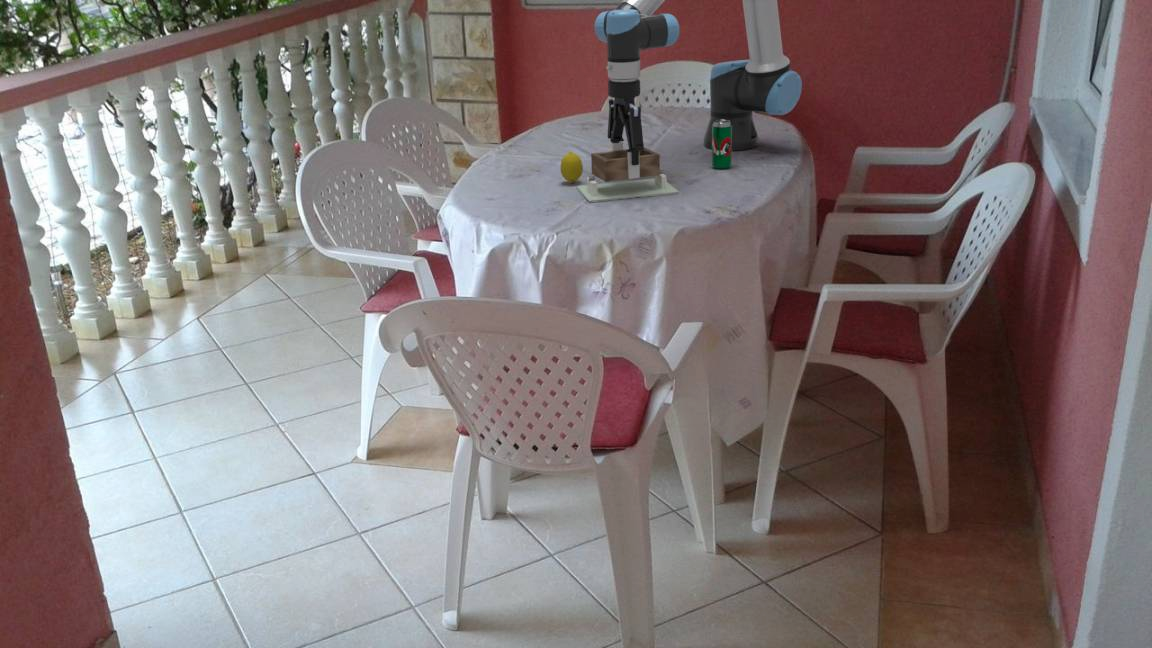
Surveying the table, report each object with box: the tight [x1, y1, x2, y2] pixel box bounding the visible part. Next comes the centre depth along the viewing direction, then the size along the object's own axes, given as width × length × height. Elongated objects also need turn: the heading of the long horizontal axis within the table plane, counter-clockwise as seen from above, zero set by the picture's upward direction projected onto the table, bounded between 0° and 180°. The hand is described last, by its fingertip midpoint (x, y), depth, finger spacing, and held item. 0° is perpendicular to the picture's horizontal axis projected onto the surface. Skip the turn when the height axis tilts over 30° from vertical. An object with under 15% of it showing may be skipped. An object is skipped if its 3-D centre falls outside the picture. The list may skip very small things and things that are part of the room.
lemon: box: [560, 151, 584, 184], centre depth 258 cm, size 6×6×8 cm
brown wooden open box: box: [590, 147, 661, 183], centre depth 248 cm, size 14×9×5 cm, turn 111°
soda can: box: [711, 120, 733, 170], centre depth 266 cm, size 5×5×12 cm
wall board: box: [575, 169, 680, 203], centre depth 250 cm, size 22×14×4 cm, turn 102°
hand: (625, 173), depth 249 cm, fingers closed on brown wooden open box, 9 cm apart
